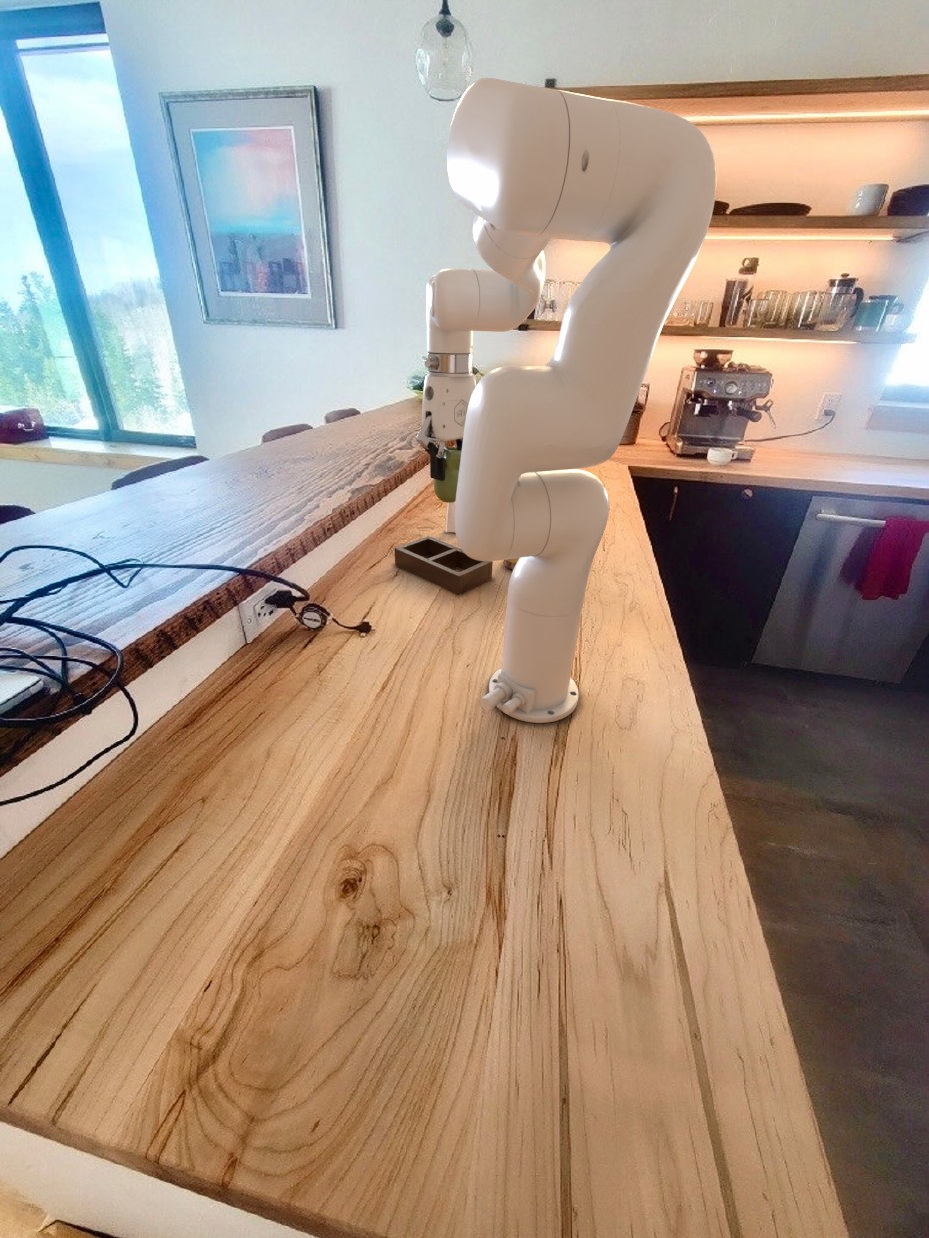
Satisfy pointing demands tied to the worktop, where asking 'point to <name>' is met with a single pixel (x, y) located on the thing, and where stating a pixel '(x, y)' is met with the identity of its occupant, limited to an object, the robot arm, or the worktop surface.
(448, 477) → the pear
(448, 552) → the divided tray
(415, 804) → the worktop surface
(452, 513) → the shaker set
